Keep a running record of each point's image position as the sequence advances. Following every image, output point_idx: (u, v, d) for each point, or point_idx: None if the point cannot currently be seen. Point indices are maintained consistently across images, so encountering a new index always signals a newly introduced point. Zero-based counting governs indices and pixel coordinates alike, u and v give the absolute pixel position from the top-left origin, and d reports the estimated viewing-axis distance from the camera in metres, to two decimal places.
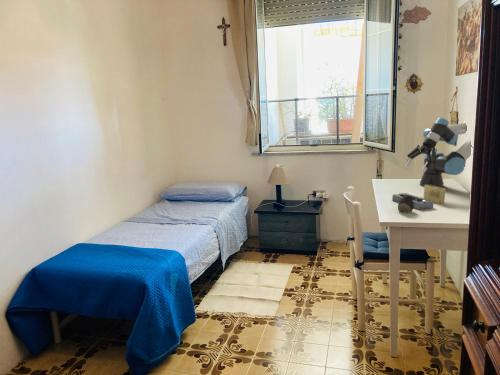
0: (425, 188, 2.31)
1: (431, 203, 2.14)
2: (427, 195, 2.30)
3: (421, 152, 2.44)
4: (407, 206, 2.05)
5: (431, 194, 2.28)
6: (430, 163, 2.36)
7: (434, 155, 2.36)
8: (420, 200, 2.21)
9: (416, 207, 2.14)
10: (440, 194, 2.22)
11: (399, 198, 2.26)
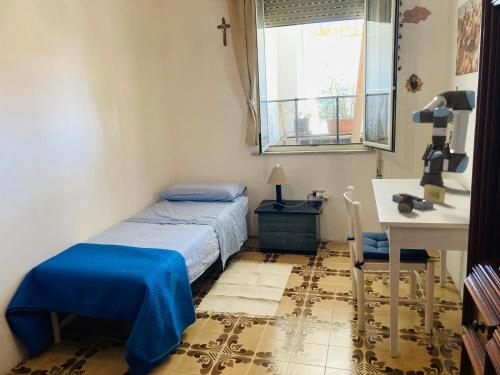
0: (425, 188, 2.31)
1: (431, 203, 2.14)
2: (427, 195, 2.30)
3: None
4: (407, 206, 2.05)
5: (431, 194, 2.28)
6: None
7: None
8: (420, 200, 2.21)
9: (416, 207, 2.14)
10: (440, 194, 2.22)
11: (399, 198, 2.26)
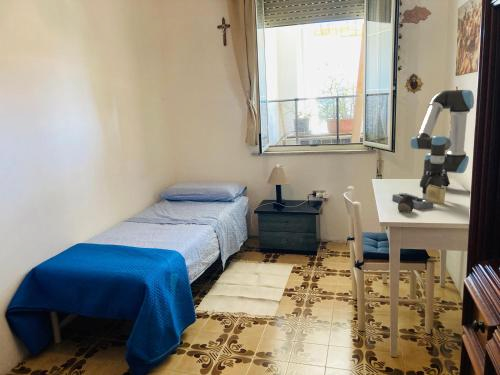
0: None
1: (431, 203, 2.14)
2: (427, 195, 2.30)
3: (434, 178, 2.25)
4: (407, 206, 2.05)
5: (431, 194, 2.28)
6: None
7: None
8: (420, 200, 2.21)
9: (416, 207, 2.14)
10: (440, 194, 2.22)
11: (399, 198, 2.26)
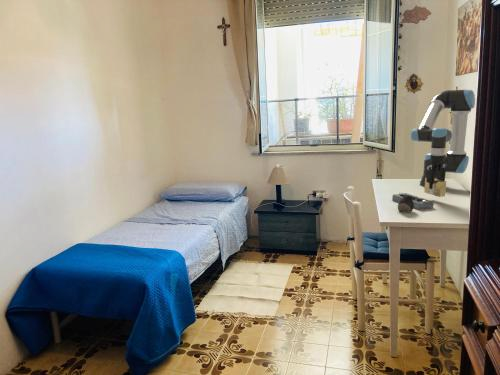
0: None
1: (431, 203, 2.14)
2: (428, 188, 2.30)
3: None
4: (407, 206, 2.05)
5: None
6: None
7: None
8: (420, 200, 2.21)
9: (416, 207, 2.14)
10: (441, 187, 2.21)
11: (399, 198, 2.26)
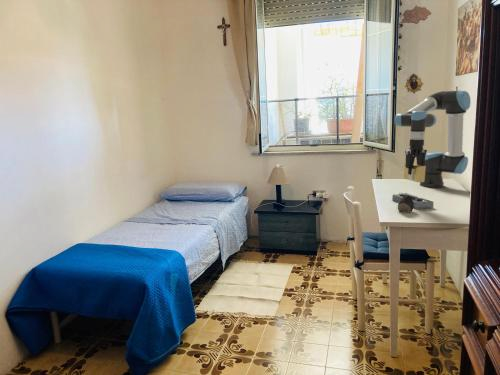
0: (405, 167, 2.23)
1: (431, 203, 2.14)
2: (408, 174, 2.22)
3: (414, 155, 2.16)
4: (407, 206, 2.05)
5: None
6: None
7: None
8: (420, 200, 2.21)
9: (416, 207, 2.14)
10: (420, 172, 2.13)
11: (399, 198, 2.26)
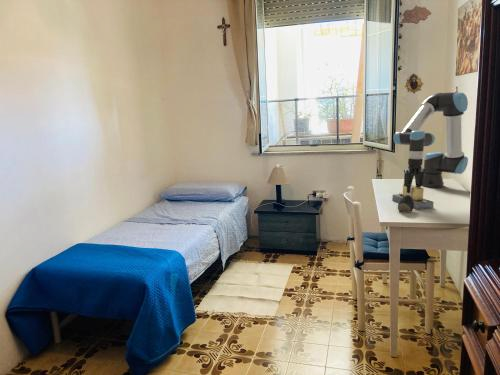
0: (403, 188, 2.26)
1: (431, 203, 2.14)
2: None
3: None
4: (407, 206, 2.05)
5: None
6: (418, 186, 2.23)
7: None
8: None
9: (416, 207, 2.14)
10: (418, 194, 2.16)
11: (399, 198, 2.26)
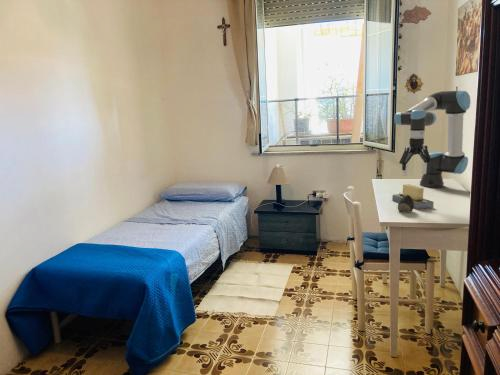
0: (403, 188, 2.26)
1: (431, 203, 2.14)
2: None
3: (414, 154, 2.16)
4: (407, 206, 2.05)
5: (409, 194, 2.22)
6: None
7: None
8: None
9: (416, 207, 2.14)
10: (418, 194, 2.16)
11: (399, 198, 2.26)
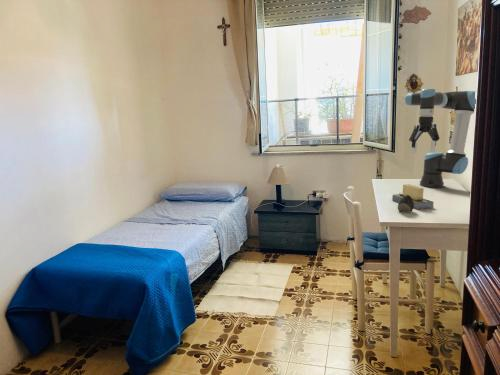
0: (403, 188, 2.26)
1: (431, 203, 2.14)
2: None
3: None
4: (407, 206, 2.05)
5: (409, 194, 2.22)
6: None
7: None
8: None
9: (416, 207, 2.14)
10: (418, 194, 2.16)
11: (399, 198, 2.26)
